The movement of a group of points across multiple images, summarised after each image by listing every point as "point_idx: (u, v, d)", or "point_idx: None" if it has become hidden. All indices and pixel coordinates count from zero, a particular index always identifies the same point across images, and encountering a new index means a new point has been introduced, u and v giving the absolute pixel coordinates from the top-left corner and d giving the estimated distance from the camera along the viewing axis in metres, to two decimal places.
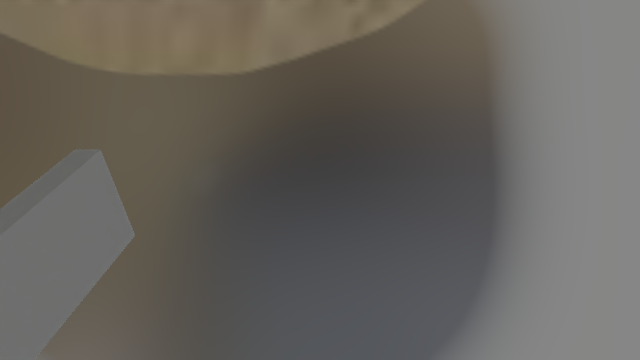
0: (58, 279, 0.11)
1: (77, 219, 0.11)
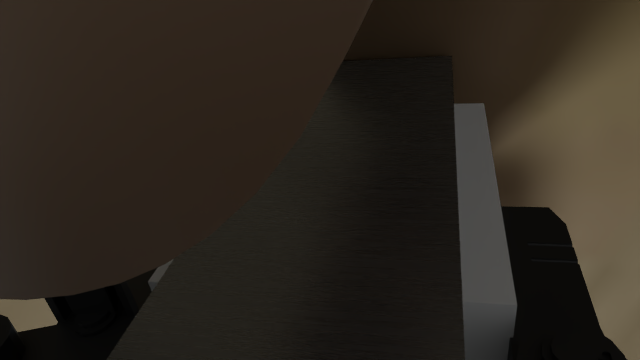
0: None
1: None
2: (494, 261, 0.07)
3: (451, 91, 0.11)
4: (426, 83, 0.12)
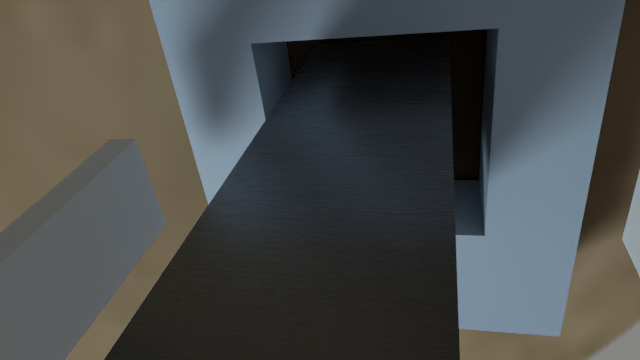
0: (99, 264, 0.11)
1: (115, 206, 0.12)
2: None
3: (448, 64, 0.13)
4: (425, 58, 0.13)
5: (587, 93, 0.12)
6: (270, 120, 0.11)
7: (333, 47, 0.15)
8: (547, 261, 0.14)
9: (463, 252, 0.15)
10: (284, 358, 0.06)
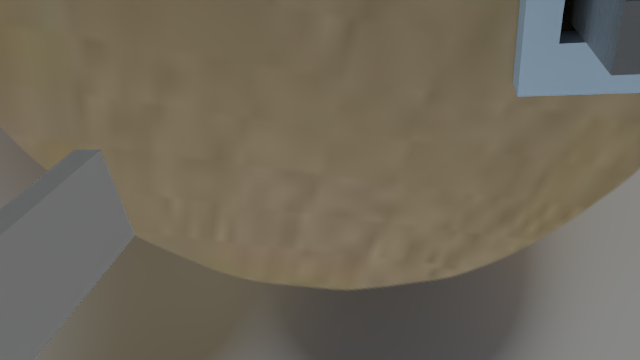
0: (58, 279, 0.11)
1: (77, 219, 0.11)
2: None
3: None
4: None
5: None
6: None
7: None
8: None
9: None
10: None
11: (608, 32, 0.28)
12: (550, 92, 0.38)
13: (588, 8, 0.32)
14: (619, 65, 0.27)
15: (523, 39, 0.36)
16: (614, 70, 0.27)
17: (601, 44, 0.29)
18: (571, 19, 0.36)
